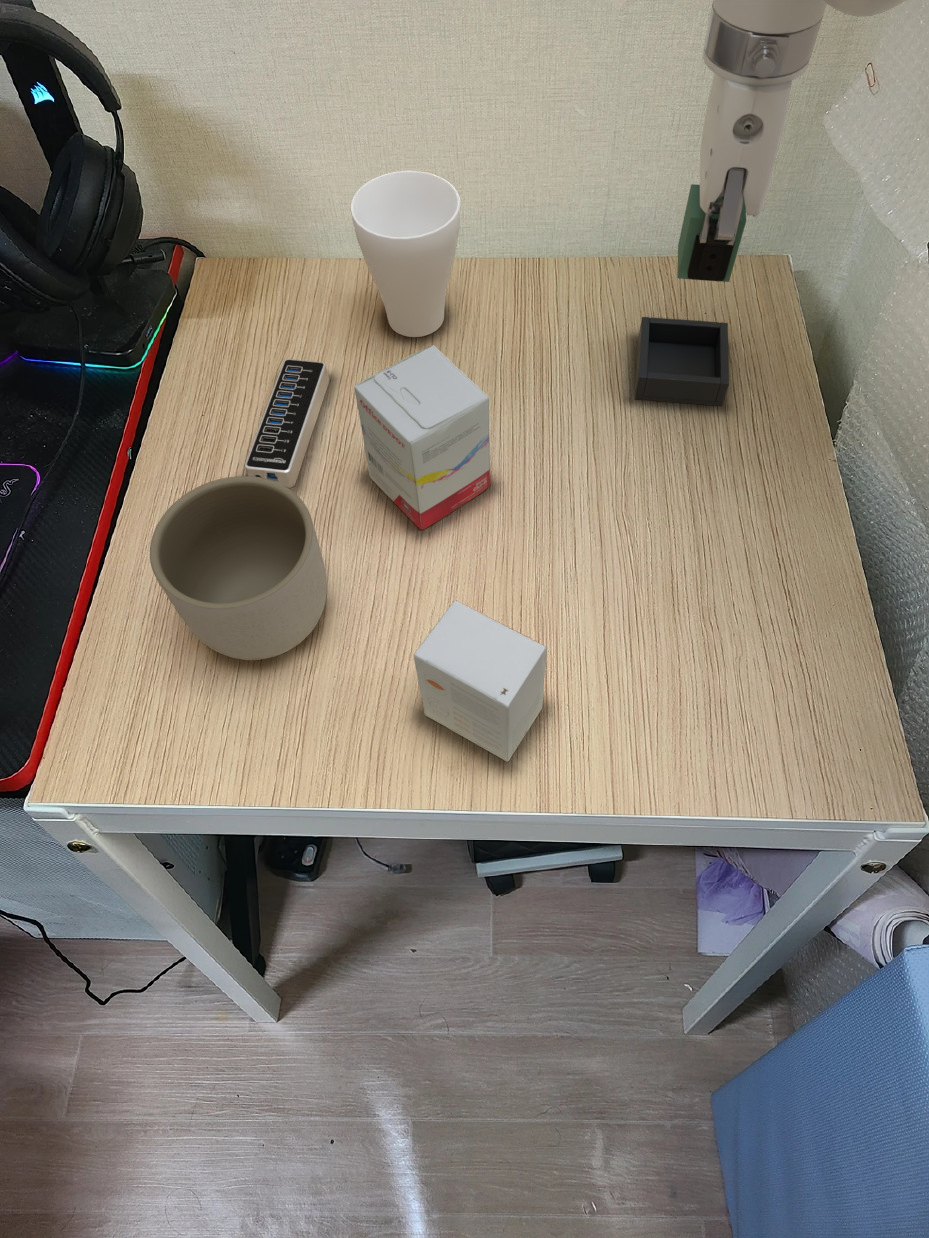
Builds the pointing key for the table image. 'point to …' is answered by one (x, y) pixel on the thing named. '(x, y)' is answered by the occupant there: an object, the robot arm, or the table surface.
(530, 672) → the small box
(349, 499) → the table surface
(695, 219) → the pad block
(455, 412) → the ink box
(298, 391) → the multiport hub
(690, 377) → the socket
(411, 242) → the cup
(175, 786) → the table surface
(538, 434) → the table surface
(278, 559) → the planter
